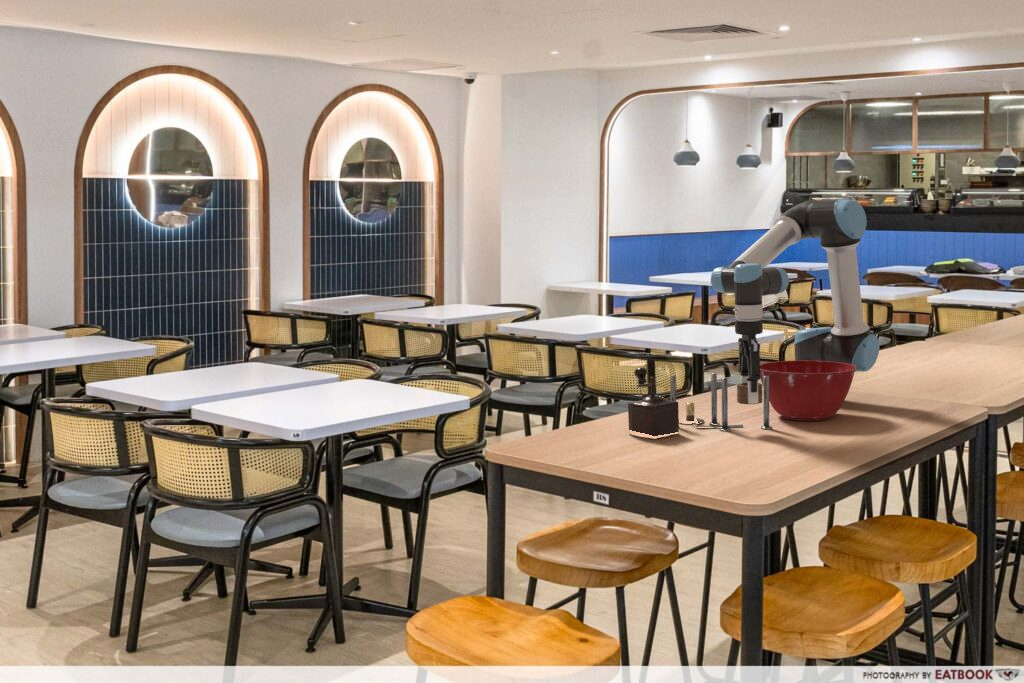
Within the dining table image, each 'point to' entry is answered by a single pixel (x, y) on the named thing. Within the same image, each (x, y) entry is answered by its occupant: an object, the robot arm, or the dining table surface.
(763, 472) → the dining table surface
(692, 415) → the brass peg
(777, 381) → the mixing bowl
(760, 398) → the napkin ring
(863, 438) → the dining table surface
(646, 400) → the brown coffee grinder
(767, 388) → the wire course
